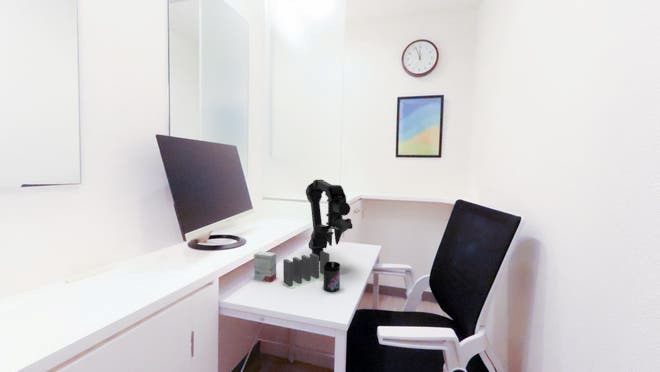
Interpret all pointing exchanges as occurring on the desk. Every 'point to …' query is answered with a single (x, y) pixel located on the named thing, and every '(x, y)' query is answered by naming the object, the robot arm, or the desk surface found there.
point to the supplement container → (331, 276)
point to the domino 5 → (323, 260)
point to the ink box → (265, 266)
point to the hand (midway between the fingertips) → (333, 244)
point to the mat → (305, 281)
